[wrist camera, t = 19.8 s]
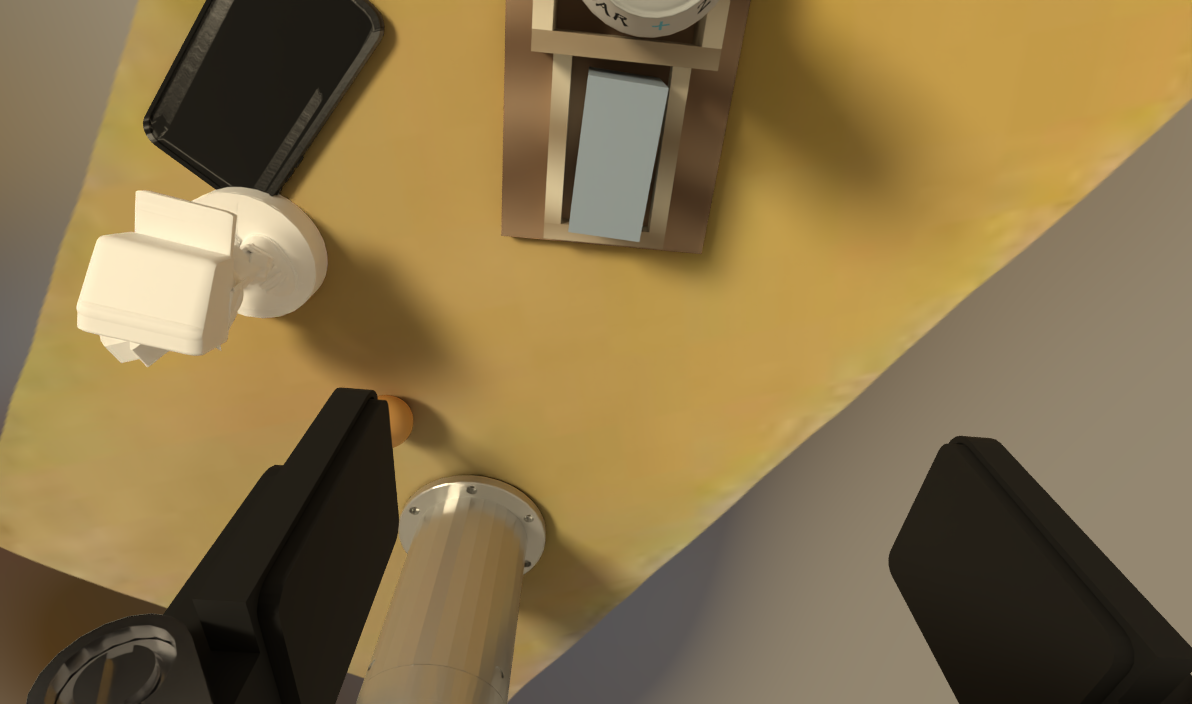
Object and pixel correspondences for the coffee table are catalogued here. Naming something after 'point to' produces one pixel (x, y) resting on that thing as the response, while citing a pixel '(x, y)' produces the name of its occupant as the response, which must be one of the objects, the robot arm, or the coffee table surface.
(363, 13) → the phone
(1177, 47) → the coffee table surface
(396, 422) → the figurine
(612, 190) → the wing block
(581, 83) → the jig
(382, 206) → the coffee table surface
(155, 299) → the character figurine
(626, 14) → the energy drink can
